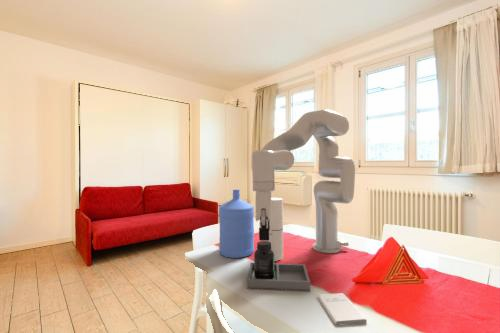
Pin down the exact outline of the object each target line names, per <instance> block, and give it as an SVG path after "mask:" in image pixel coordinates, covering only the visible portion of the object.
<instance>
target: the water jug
mask: <svg viewBox="0 0 500 333" xmlns="http://www.w3.org/2000/svg"><path fill="white" fill-rule="evenodd" d="M240 191H241V190H240V189H233V190H232V199H230V200H228V201H227V202H223V204H221V205H220V206H219V210H218V218H219V219H218V220H219V221H218V222H219V246H218V250H219V254H220V255H221V256H223V257H226V258H229V259H241V258H246V257H249V256H251V255H252V254H254V253H255V245H254V244H255V243H254V242H255V240H254V239H255V238H254V235H255V225H254V221H255V220H254V214H255V212H254V211H255V210H254V205H253V204H251V203H249V202H247V201H245V200H243V199H241V197H240V195H241V194H240Z"/></svg>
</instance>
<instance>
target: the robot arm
mask: <svg viewBox="0 0 500 333" xmlns="http://www.w3.org/2000/svg"><path fill="white" fill-rule="evenodd" d="M349 129H350V122H349V120H348V118H347V117H346V116H345V115H343V114H340V113H338V112H336V111H334V110H330V109H320V110H314V111H309V112H306V113H303V114H302V115H301V116H300V118H299V119H298V120H297V121H296V122H295V123H294V124H293V125H292V126H291V127H290V128H289V129H288V130H287V131H285V132H283V133H282V134H279V135H278V136H277V137H274V138H272V139H271V140H270V141H269V142H267V143H266V144H265V145H264V146H263V147H262V148H261V149H259V150H258V149H257V150H254V151H252V154H251V164H252V165H251V166H252V168H251V169H252V170H251V171H252V172H251V174H252V192H255V221H256V222H258V221H259V228H258V237H259V238H258V239H259V241H266V240H269V230H270V226H269V220H270V216H271V198H272V192H274V191H275V189H276V188H275V184H276V183H275V182H276V181H275V180H276V179H275V171H287V170H289V169H291V168H292V167H293V166H294V163H295V156H294V154H293V152H292V151H295V150H297V149H300V148H302V147H303V146H305V145H306V144H307V143H308V142H309V140H310V139H311V138H312V136H313V137H314V138H315V140H316V142H317V144H318V150H319V152H318V153H319V154H318V166H317V167H318V174H319V175H320V176H321V177H323V178H327V179H329V178H330V179H339V180H340V181H338V180H336V181H335V180H319V181H318V182H316V183H315V184H314V187H313V195H314V200H315V242H314V243H313V244H312V249H313V250H314V251H316V252H319V253H323V254H337V253H339V252H341V250H342V248H341V247H349V245H350V244H349V242H348V241H344V240H343V239H342V240H339V239H338V209H337V207H336V204H335V203H337V204H343V205H344V204H346V205H347V204H350V203H351V202H352V201H354V200H353V199H354V196H355V181H356V179H355V178H356V177H355V176H356V166H355V162H354V160H353V159H352V158H351V157H349V156H348V157H347V156H339V144H338V142H337V140H335V138H334V137H341V136H344V135H346V134H347V133H348V131H349Z"/></svg>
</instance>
